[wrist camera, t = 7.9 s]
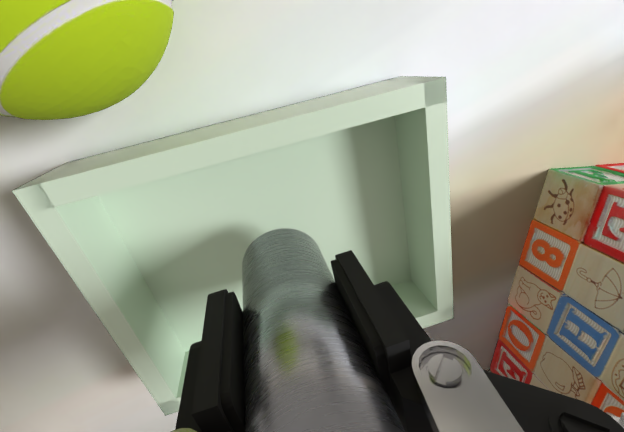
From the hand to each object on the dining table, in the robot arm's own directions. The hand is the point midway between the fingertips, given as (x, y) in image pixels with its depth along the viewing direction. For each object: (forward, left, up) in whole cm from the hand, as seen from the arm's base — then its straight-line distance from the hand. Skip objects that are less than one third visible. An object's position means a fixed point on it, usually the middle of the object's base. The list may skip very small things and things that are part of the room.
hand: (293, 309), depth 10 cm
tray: (0, 0, -6) cm, 6 cm away
